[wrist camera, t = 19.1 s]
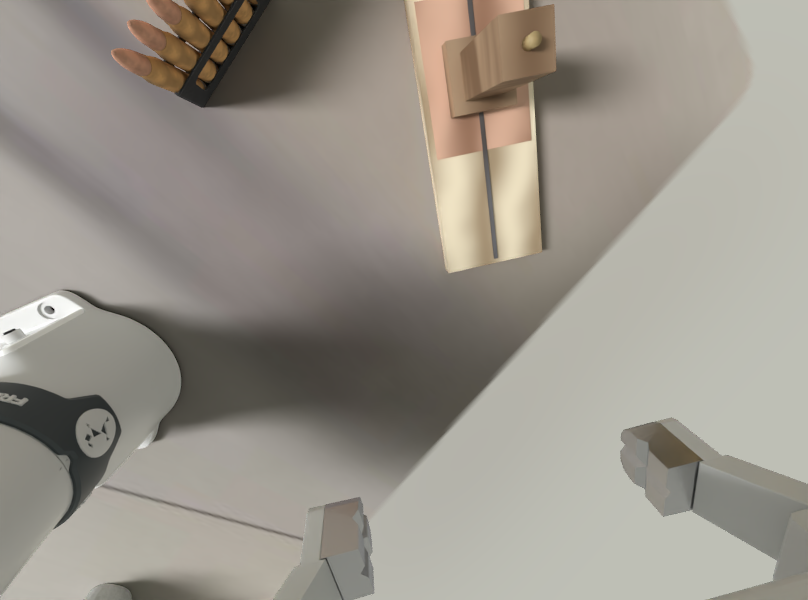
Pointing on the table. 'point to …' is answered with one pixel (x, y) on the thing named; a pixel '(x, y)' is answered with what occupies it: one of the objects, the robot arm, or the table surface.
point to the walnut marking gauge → (499, 60)
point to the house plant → (109, 593)
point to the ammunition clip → (214, 45)
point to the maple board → (475, 145)
